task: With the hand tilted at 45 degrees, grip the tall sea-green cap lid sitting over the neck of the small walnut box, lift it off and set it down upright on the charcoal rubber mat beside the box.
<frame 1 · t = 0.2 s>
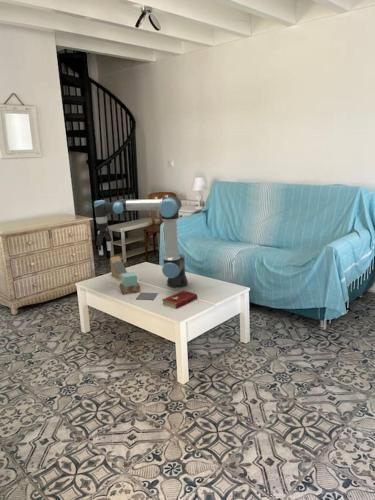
hand: (105, 252, 280), 27 cm above the table, tool pointing down, fingers open, 13 cm apart
sandwich container: (120, 277, 313), on the table
mat: (146, 296, 269), on the table
hardcover book: (180, 302, 259), on the table
walnut box: (130, 290, 281), on the table
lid: (129, 284, 280), point 5 cm above the table, touching walnut box
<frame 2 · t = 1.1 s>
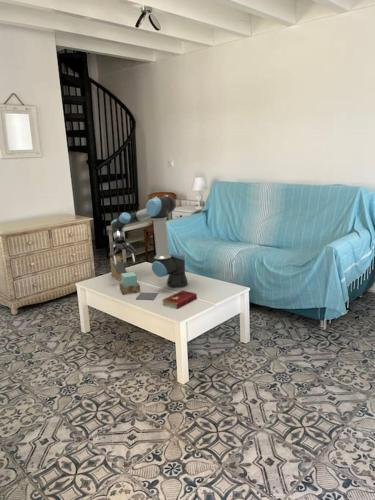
hand: (125, 263, 286), 18 cm above the table, tool tilted 45°, fingers open, 13 cm apart
nothing on the table moved.
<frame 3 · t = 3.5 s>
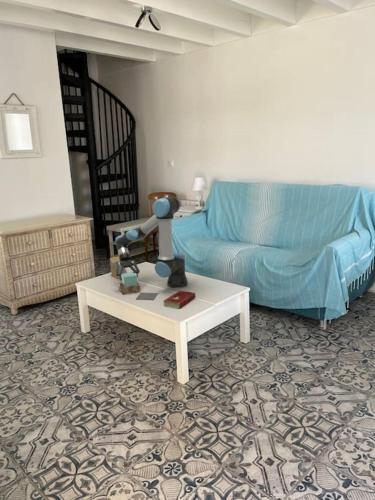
hand: (130, 283, 277), 7 cm above the table, tool tilted 45°, fingers closed on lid, 9 cm apart
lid: (129, 284, 280), point 5 cm above the table, touching gripper, walnut box
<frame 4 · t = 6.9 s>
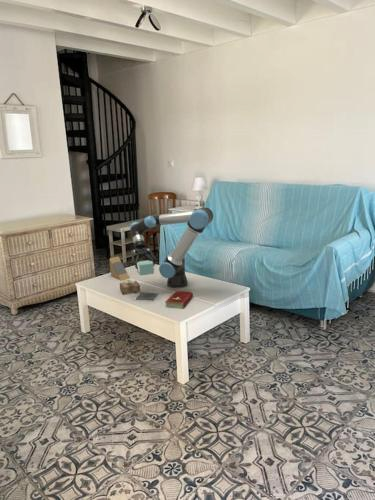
hand: (146, 271, 262), 19 cm above the table, tool tilted 45°, fingers closed on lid, 9 cm apart
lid: (145, 272, 265), point 17 cm above the table, touching gripper
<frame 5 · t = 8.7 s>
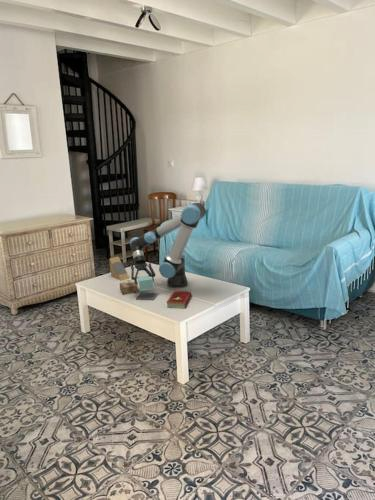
hand: (146, 287, 265), 8 cm above the table, tool tilted 45°, fingers closed on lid, 9 cm apart
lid: (144, 288, 268), point 6 cm above the table, touching gripper
when the fingers open (4 cm above the table, at t = 10.1 s): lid drops 2 cm, resting on mat.
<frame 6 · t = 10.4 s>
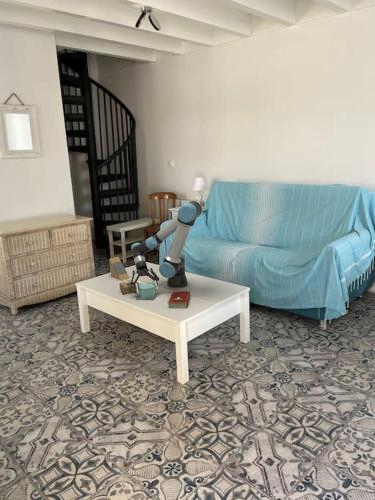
hand: (147, 291, 266), 5 cm above the table, tool tilted 45°, fingers open, 12 cm apart
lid: (146, 295, 269), resting on mat
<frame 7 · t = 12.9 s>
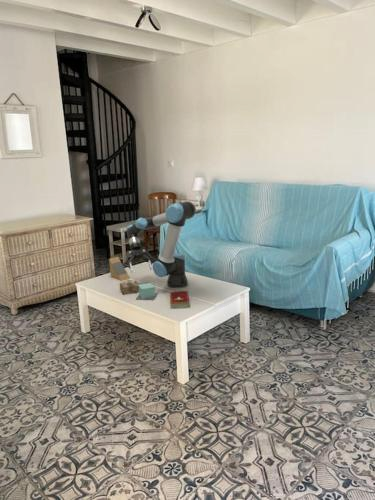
hand: (141, 270, 275), 15 cm above the table, tool tilted 45°, fingers open, 13 cm apart
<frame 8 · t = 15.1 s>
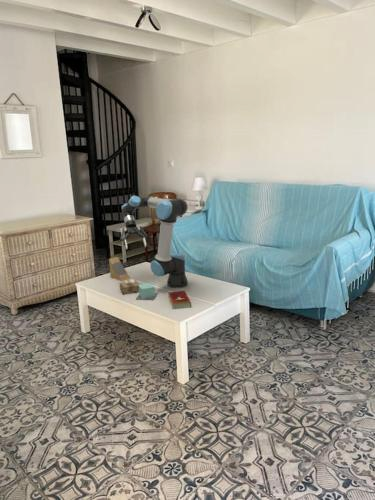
hand: (136, 247, 281), 30 cm above the table, tool tilted 45°, fingers open, 13 cm apart
at the end: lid inside the target area on the mat (0.0 cm from its centre), point 0.5 cm above the mat's base; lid tilted 0°; the gripper is holding nothing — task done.
